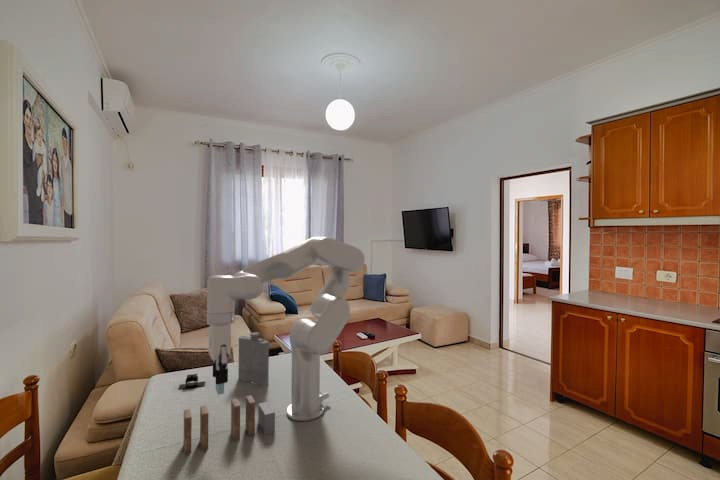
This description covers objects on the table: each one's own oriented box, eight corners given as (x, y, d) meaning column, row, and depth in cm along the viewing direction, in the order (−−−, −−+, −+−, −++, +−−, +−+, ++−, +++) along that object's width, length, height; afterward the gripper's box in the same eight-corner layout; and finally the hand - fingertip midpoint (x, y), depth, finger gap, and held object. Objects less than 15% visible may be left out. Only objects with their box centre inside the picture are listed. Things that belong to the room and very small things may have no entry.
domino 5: (250, 426, 107) (251, 395, 107) (254, 434, 102) (254, 401, 102) (245, 428, 106) (245, 396, 106) (249, 436, 102) (249, 403, 101)
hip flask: (236, 379, 143) (237, 331, 143) (244, 375, 146) (244, 329, 146) (264, 387, 135) (264, 337, 135) (271, 383, 138) (272, 334, 138)
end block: (267, 419, 111) (267, 401, 111) (274, 431, 104) (275, 412, 104) (258, 422, 109) (258, 403, 109) (265, 434, 102) (265, 414, 102)
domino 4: (236, 430, 104) (236, 398, 104) (239, 439, 100) (240, 405, 100) (231, 432, 104) (231, 399, 104) (234, 440, 99) (234, 406, 99)
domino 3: (221, 386, 102) (221, 353, 102) (224, 393, 98) (224, 358, 98) (215, 388, 101) (215, 354, 101) (218, 394, 97) (218, 359, 97)
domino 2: (206, 439, 100) (206, 405, 100) (208, 448, 96) (208, 412, 96) (200, 440, 99) (200, 406, 99) (202, 449, 95) (202, 414, 95)
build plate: (173, 393, 131) (173, 381, 131) (175, 385, 137) (175, 374, 137) (208, 388, 135) (208, 376, 135) (209, 381, 142) (209, 370, 142)
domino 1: (189, 443, 98) (190, 408, 98) (191, 452, 93) (191, 416, 93) (183, 445, 97) (183, 410, 97) (184, 454, 93) (185, 418, 93)
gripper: (203, 313, 105) (202, 372, 105) (211, 325, 90) (210, 393, 90) (229, 311, 109) (228, 367, 109) (240, 322, 94) (239, 387, 94)
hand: (220, 378), depth 100 cm, fingers closed on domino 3, 4 cm apart
